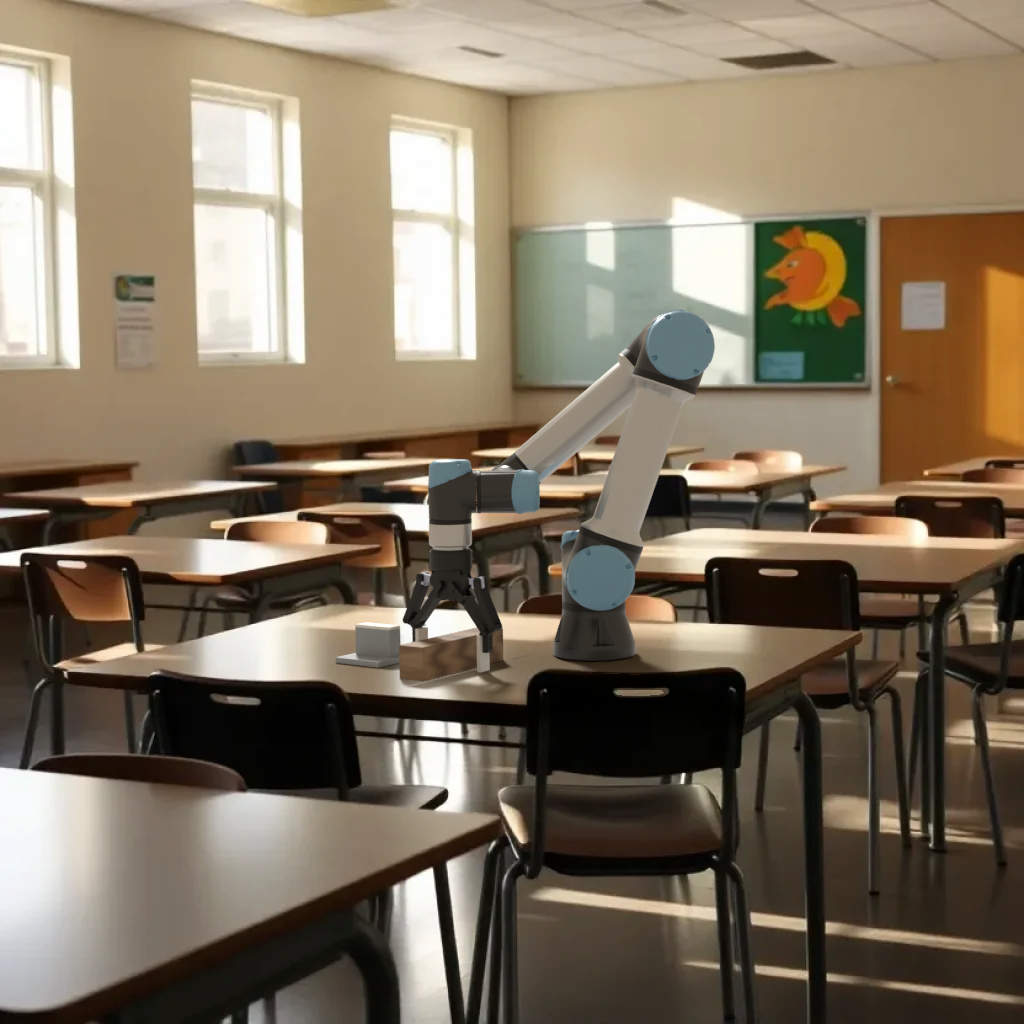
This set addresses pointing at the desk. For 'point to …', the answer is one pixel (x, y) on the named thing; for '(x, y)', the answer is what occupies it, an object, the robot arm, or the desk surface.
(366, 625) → the fulcrum
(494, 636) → the brown long rectangular block
